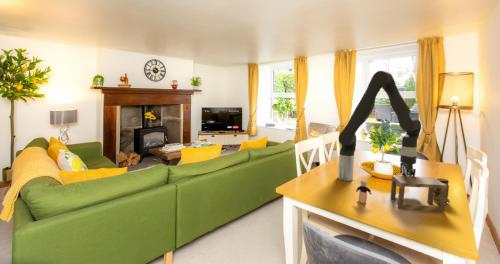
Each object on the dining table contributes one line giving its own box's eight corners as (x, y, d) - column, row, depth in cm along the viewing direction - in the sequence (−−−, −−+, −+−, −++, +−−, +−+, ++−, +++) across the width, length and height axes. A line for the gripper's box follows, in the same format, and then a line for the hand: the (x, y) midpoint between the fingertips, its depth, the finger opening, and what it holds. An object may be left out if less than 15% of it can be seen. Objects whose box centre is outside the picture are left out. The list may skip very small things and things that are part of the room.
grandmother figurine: (354, 203, 130) (356, 180, 129) (355, 200, 134) (356, 177, 132) (371, 205, 127) (372, 182, 126) (370, 202, 131) (372, 179, 129)
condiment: (431, 201, 132) (433, 179, 131) (432, 196, 139) (435, 176, 137) (448, 205, 128) (451, 182, 126) (449, 199, 134) (451, 178, 132)
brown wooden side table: (398, 208, 124) (401, 182, 122) (390, 199, 135) (392, 175, 133) (443, 212, 120) (446, 185, 118) (431, 201, 131) (433, 177, 130)
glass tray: (396, 186, 138) (397, 177, 137) (392, 182, 143) (393, 174, 143) (420, 187, 135) (421, 178, 135) (415, 183, 141) (416, 175, 140)
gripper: (396, 151, 145) (394, 179, 147) (406, 157, 131) (404, 187, 133) (410, 151, 143) (408, 179, 145) (422, 157, 129) (419, 188, 131)
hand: (406, 183), depth 139 cm, fingers closed on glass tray, 6 cm apart
